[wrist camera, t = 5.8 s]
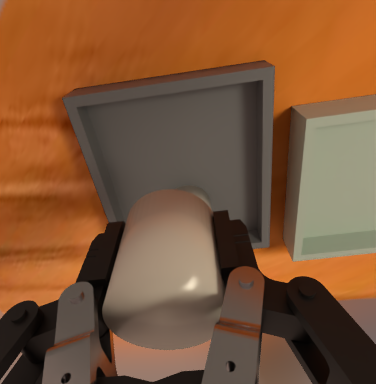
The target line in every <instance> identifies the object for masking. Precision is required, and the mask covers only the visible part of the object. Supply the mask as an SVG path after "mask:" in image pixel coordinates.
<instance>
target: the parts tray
mask: <svg viewBox="0 0 376 384" xmlns="http://www.w3.org/2000/svg"><path fill="white" fill-rule="evenodd" d="M274 74H275V66H273V65H272V64H270V63H268V62H266V61H265V60H263V61H256V62H250V63H243V64H237V65H230V66H223V67H217V68H210V69H203V70H197V71H190V72H184V73H177V74H170V75H164V76H157V77H151V78H144V79H137V80H131V81H124V82H117V83H111V84H104V85H98V86H91V87H84V88H78V89H74V90H73V91H71V92H70V93H69V94H67V95H66V96H64V97H63V98H62V100H63V102H64V105H65V108H66V110H67V113H68V116H69V118H70V121H71V123H72V126H73V129H74V131H75V134H76V137H77V139H78V142H79V145H80V147H81V150H82V153H83V155H84V158H85V161H86V163H87V166H88V169H89V171H90V174H91V177H92V179H93V182H94V185H95V187H96V190H97V192H98V195H99V198H100V200H101V203H102V206H103V208H104V211H105V214H106V216H107V219H108V222H118V221H124V222H125V223H126V221H127V217H128V214H129V211H130V209H131V208H132V206H133V205H134V204H135V203H136V202H137V201H138V200H139V199H140V198H141V197H143V196H145V195H147V194H149V193H151V192H155V191H158V190H165V189H176V188H178V187H181V186H186V185H191V186H196V187H199V188H201V189H203V190H204V191H205V192H206V193H207V194H208V196H209V198H210V203H211V210H212V212H213V211H222V210H228V213H229V218H230V220H236V219H240V220H241V221H242V222H243V223H244V224H245V225H246V227H247V230H248V235H249V238H250V242H251V245H252V248H253V249H257V248H266V247H269V241H270V208H271V174H272V141H273V108H274Z"/></svg>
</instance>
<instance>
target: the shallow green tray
mask: <svg viewBox="0 0 376 384" xmlns="http://www.w3.org/2000/svg"><path fill="white" fill-rule="evenodd" d="M283 240H284V243H285V245H286V247H287V249H288V252H289V254H290V256H291V259H292V261H303V260H312V259H322V258H331V257H341V256H350V255H360V254H369V253H376V94H375V95H368V96H361V97H354V98H347V99H340V100H332V101H325V102H318V103H311V104H304V105H297V106H292V107H291V122H290V137H289V153H288V168H287V184H286V199H285V214H284V230H283Z"/></svg>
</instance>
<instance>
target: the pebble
mask: <svg viewBox="0 0 376 384" xmlns="http://www.w3.org/2000/svg"><path fill="white" fill-rule="evenodd" d="M224 296H225V286H224V282H223V279H222V275H221V267H220V260H219V253H218V245H217V238H216V231H215V223H214V216H213V212H212V210H211V208H210V207H209V206H208V204H207V203H206V202H205V201H203V200H202V199H201V198H199V197H198V196H196V195H194V194H192V193H189V192H186V191H182V190H175V189H165V190H158V191H155V192H151V193H149V194H147V195H145V196H143V197H141V198H140V199H139V200H138V201H137V202H136V203H135V204H134V205H133V206H132V208H131V209H130V211H129V214H128V217H127V221H126V225H125V228H124V232H123V235H122V239H121V243H120V246H119V250H118V254H117V257H116V261H115V264H114V268H113V272H112V275H111V279H110V282H109V286H108V290H107V293H106V297H105V300H104V304H103V308H102V315H103V319H104V322H105V324H106V325H107V327H108V328H109V329H110V330H111V331H112V332H113V333H114V334H115V335H117V336H118V337H120V338H121V339H123V340H125V341H127V342H129V343H132V344H135V345H138V346H141V347H146V348H151V349H160V350H175V349H184V348H188V347H192V346H197V345H199V344H202V343H204V342H207V341H208V340H210V339H212V335H213V330H214V327H215V324H216V322H218V321H219V319H220V314H221V310H222V305H223V300H224Z"/></svg>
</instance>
